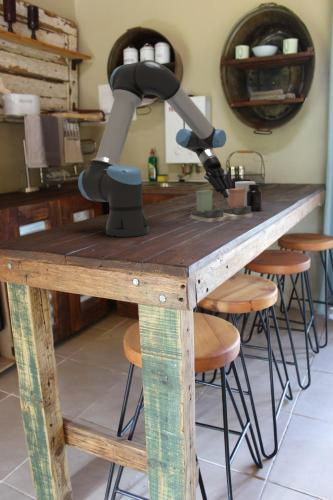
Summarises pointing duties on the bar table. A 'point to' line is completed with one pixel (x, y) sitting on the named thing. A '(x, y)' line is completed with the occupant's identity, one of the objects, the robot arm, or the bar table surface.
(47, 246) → the bar table surface
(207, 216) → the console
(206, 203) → the green container
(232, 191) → the terracotta rectangular container
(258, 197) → the supplement bottle
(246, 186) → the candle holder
